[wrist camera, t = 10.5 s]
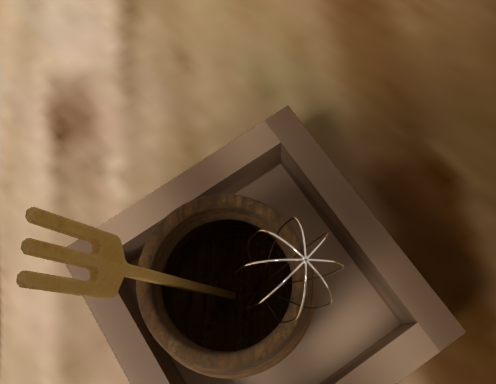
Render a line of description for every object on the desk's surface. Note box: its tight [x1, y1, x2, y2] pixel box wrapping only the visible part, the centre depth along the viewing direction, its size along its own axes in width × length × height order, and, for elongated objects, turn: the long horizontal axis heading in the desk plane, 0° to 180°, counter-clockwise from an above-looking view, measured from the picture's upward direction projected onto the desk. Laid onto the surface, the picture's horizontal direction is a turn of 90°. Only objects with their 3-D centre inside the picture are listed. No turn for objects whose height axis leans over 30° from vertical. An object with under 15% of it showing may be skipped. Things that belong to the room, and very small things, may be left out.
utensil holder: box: [16, 194, 344, 379], centre depth 14 cm, size 6×6×12 cm
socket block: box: [66, 106, 466, 384], centre depth 19 cm, size 11×11×4 cm
